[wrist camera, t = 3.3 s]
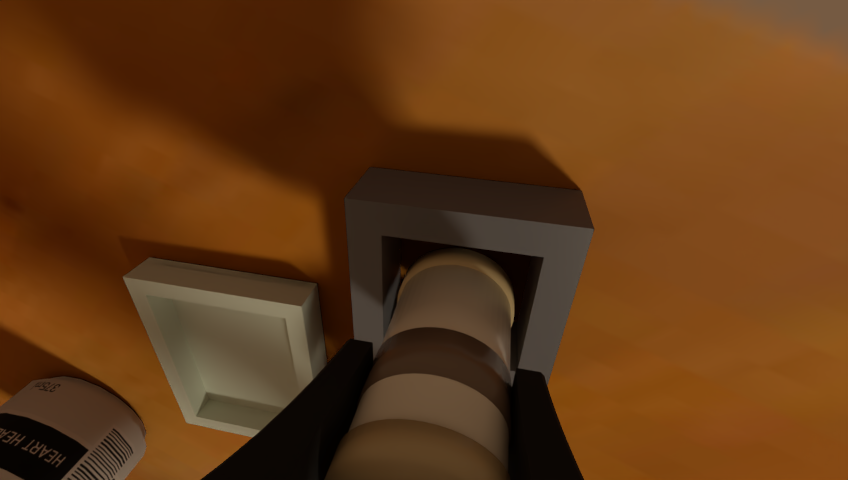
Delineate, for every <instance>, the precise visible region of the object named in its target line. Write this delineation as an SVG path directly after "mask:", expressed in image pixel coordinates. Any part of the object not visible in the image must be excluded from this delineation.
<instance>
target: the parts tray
mask: <svg viewBox="0 0 848 480" xmlns="http://www.w3.org/2000/svg"><path fill="white" fill-rule="evenodd" d="M123 279H124V281H125V284H126V286H127V288H128V290H129V293H130V295H131V297H132V300H133V302H134V304H135V306H136V309H137V311H138V313H139V315H140V318H141V320H142V322H143V325H144V327H145V329H146V331H147V334H148V336H149V338H150V341H151V343H152V345H153V347H154V350H155V352H156V354H157V356H158V359H159V361H160V363H161V366H162V368H163V370H164V372H165V375H166V377H167V379H168V382H169V384H170V386H171V388H172V391H173V393H174V395H175V397H176V400H177V402H178V404H179V407H180V409H181V411H182V413H183V416H184V418H185V420H186V422H187V423H190V424H194V425H199V426H204V427H208V428H213V429H217V430H222V431H227V432H231V433H236V434H240V435H245V436H250V437H254V436H255V435H256V434H257V433H258V432H260V431H261V430H262V429H263V428H264V427H265V426H266V425H267V424H268V423H269V422H270V421H271V420H272V419H274V418H275V417H276V416H277V415H278V414H279V413H280V412H281V411H282V410H283V409H284V408H285V407H286V406H287V405H288V404H289V403H290V402H291V401H292V400H293V399H294V398H295V397H296V396H297V395H298V394H299V393H300V392H301V391H302V390H303V389H304V388H305V387H306V386H307V385H308V384H309V383H310V382H311V381H312V380H313V379H314V378H315V377H316V376H317V375H318V374H319V373H320V371H321V370H322V369H323V368H324V367H325V366H326V365H327V357H326V349H325V342H324V334H323V326H322V318H321V310H320V302H319V294H318V286H317V283H311V282H304V281H298V280H292V279H285V278H279V277H272V276H266V275H260V274H253V273H247V272H240V271H234V270H228V269H221V268H215V267H208V266H202V265H196V264H189V263H183V262H176V261H170V260H164V259H157V258H151V257H149V258H148V259H146V260H145V261H144V262H142V263H141V264H140V265H138V266H137V267H135V268H134V269H133V270H131V271H130V272H129V273H127V274H126V275H124V276H123Z"/></svg>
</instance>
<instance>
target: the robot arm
mask: <svg viewBox="0 0 848 480" xmlns="http://www.w3.org/2000/svg"><path fill="white" fill-rule="evenodd" d="M372 363H373V343H372V342H367V341H361V340H355V339H350V340H348V341H347V342H346V343H345V344H344V345H343V347H342V348H341V349H340V350H339V351H338V352H337V354H336V355H335V356H334V357H333V358H332V359H331V360H330V362H329V363H328V364H327V365H326V366H325V367H324V368H323V369H322V370H321V371H320V373H319V374H318V375H317V376H316V377H315V378H314V379H313V380H312V381H311V382H310V383H309V384H308V385H307V386H306V387H305V388H304V389H303V390H302V391H301V392H300V393H299V394H298V395H297V396H296V397H295V398H294V399H293V400H292V401H291V402H290V403H289V404H288V405H287V406H286V407H285V408H284V409H283V410H282V411H281V412H280V413H279V414H278V415H277V416H276V417H275V418H274V419H272V420H271V421H270V422H269V423H268V424H267V425H266V426H265V427H264V428H263V429H262V430H261V431H260V432H258V433H257V434H256V435H255V436H254V437H253V438H252V439H250V440H249V441H248V442H247V443H246V444H245V445H243V446H242V447H241V448H240V449H239V450H238V451H236V452H235V453H234V454H233V455H231V456H230V457H229V458H228V459H226V460H225V461H224V462H223V463H222V464H220V465H219V466H218V467H217V468H215V469H214V470H213V471H211V472H210V473H209V474H207V475H206V476H205V477H203V478H202V479H201V480H324V479H325V477H326V474H327V472H328V469H329V467H330V464H331V462H332V459H333V457H334V454H335V452H336V449H337V446H338V444H339V442H340V440H341V439H342V438H343V436H344V435H345V434H346V433H348V431H349V428H350V426H351V423H352V421H353V418H354V415H355V413H356V410H357V403H358V399H359V397H360V394H361V391H362V389H363V386H364V384H365V381H366V379H367V376H368V373H369V371H370V368H371V366H372ZM508 473H509V475H510V478H511V480H584V479H583V476H582V474H581V472H580V470H579V468H578V465H577V463H576V461H575V458H574V456H573V454H572V451H571V449H570V447H569V444H568V442H567V440H566V437H565V435H564V432H563V430H562V427H561V425H560V422H559V419H558V417H557V414H556V411H555V408H554V406H553V403H552V400H551V397H550V394H549V390H548V387H547V384H546V380H545V376H544V375H543V374H542V373H541V372H538V371H532V370H526V369H520V368H516V371H515V376H514V380H513V384H512V402H511V440H510V444H509V454H508Z"/></svg>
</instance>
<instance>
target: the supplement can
mask: <svg viewBox="0 0 848 480" xmlns="http://www.w3.org/2000/svg"><path fill="white" fill-rule="evenodd" d="M145 435H146V431H145V428H144V426H143V423H142V421H141V420H140V419H139V417H138V416H137V415H136V414H135V412H134V411H133V410H132V409H131V408H130V407H128V406H127V405H126V404H125V403H124V402H123V401H121V400H120V399H119V398H118V397H116V396H114V395H113V394H111V393H109V392H108V391H106V390H104V389H103V388H101V387H99V386H97V385H94V384H92V383H89V382H87V381H84V380H82V379H77V378H72V377H66V376H61V377H54V378H51V379H40V380H33V381H32V382H30V383H29V384H28V385H27V386H25V387H24V388H23V389H22V390H20V391H19V392H18V393H17V394H15V395H14V396H13V397H12V398H10V399H9V400H8V401H7V402H6V403H4V404H3V405H2V406H1V407H0V480H124V479H125V478H126V477H127V476H128V474H129V473H130V472H131V471H132V469H133V468H134V467H135V466H136V464H137V463H138V462H139V461H140V459H141V458H142V457H143V456H144V453H145V450H146V443H145V440H144V439H145Z"/></svg>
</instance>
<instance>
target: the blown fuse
mask: <svg viewBox="0 0 848 480" xmlns="http://www.w3.org/2000/svg"><path fill="white" fill-rule="evenodd" d="M513 321H514V289H513V285H512V283H511V280H510V279H509V277H508V275H507V274H506V272H505V271H504V270H503V269H502V268H501V267H500V266H499V265H498V264H497V263H496V262H494V261H493V260H492V259H490V258H488V257H487V256H485V255H483V254H480V253H478V252H475V251H472V250H468V249H463V248H443V249H438V250H434V251H431V252H429V253H426V254H424V255H423V256H421V257H419V258H418V259H417V260H416V261H415V262H414V263H413V264H412V265H411V266H410V267H409V269H408V270H407V273H406V275H405V277H404V280H403V282H402V285H401V287H400V290H399V293H398V299H397V306H396V309H395V311H394V314H393V317H392V319H391V322H390V324H389V327H388V330H387V332H386V335H385V337H384V340H383V343H382V345H381V347H380V348H379V349H378V351H377V353H376V355H375V358H374V361H373V363H372V366H371V368H370V371H369V373H368V376H367V379H366V381H365V384H364V386H363V389H362V391H361V394H360V397H359V399H358V403H357V410H356V413H355V415H354V418H353V421H352V423H351V426H350V428H349V431H348V433H346V434H345V435H344V436H343V438H342V439H341V440H340V442H339V444H338V446H337V449H336V452H335V454H334V457H333V459H332V462H331V464H330V467H329V469H328V472H327V474H326V477H325V479H324V480H511V478H510V475H509V473H508V454H509V444H510V440H511V402H512V383H511V377H510V346H511V327H512V324H513Z"/></svg>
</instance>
